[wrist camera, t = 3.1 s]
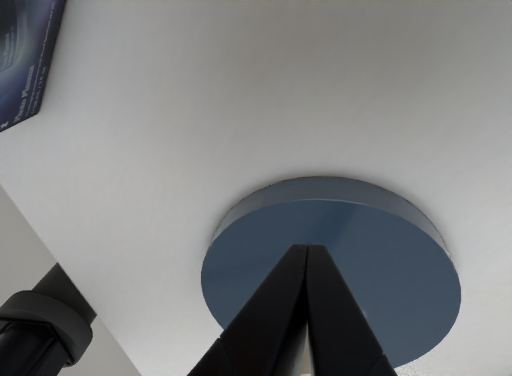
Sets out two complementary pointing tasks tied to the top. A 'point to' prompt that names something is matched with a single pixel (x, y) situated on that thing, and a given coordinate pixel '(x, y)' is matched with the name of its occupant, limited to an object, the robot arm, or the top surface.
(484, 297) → the top surface
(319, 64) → the top surface
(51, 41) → the small box
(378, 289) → the plate
